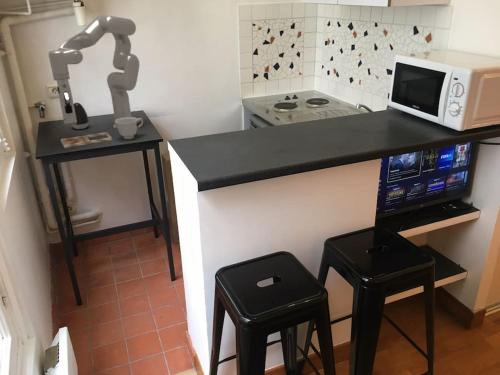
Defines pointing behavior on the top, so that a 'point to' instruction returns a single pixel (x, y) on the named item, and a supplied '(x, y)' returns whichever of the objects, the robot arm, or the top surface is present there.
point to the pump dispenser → (80, 117)
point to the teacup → (128, 126)
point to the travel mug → (70, 117)
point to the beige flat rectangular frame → (79, 140)
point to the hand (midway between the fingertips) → (68, 111)
